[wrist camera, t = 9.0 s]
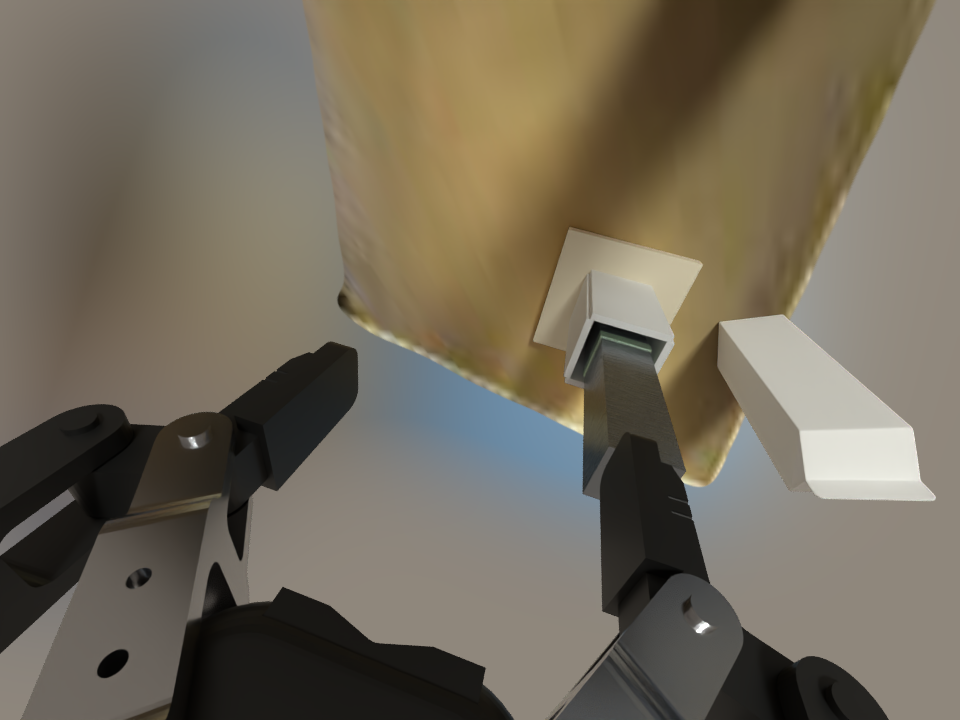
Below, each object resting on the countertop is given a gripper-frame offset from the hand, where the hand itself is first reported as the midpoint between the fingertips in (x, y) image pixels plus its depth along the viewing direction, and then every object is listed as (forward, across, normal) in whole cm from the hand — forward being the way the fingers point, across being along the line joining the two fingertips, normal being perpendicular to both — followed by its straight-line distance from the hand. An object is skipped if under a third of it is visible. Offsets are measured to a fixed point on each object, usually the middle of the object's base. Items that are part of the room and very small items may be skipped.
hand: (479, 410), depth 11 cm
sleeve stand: (+35, -8, +8) cm, 37 cm away
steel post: (+26, -8, +9) cm, 29 cm away
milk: (+35, -24, +9) cm, 43 cm away
